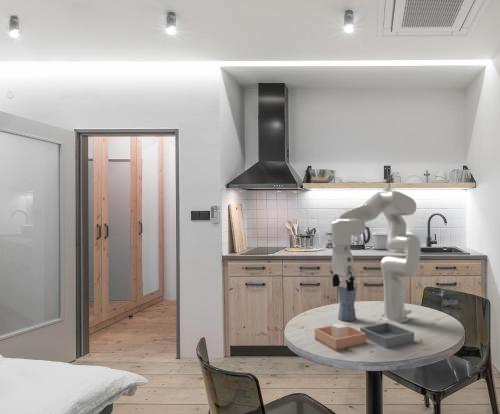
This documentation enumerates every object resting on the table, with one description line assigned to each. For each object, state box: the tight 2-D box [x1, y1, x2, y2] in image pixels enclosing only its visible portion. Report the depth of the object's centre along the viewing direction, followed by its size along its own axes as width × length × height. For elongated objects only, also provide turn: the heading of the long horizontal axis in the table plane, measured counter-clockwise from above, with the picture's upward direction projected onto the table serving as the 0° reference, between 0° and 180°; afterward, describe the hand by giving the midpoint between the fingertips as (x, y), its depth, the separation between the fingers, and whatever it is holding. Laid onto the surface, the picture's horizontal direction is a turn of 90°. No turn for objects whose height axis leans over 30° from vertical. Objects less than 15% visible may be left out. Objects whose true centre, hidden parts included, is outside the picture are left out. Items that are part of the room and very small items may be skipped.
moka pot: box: [336, 279, 358, 323], centre depth 186 cm, size 10×15×20 cm, turn 23°
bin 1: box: [314, 322, 367, 352], centre depth 155 cm, size 15×15×4 cm
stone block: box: [330, 322, 349, 339], centre depth 155 cm, size 5×5×6 cm
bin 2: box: [359, 321, 415, 349], centre depth 155 cm, size 15×15×4 cm
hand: (343, 288), depth 159 cm, fingers open, 9 cm apart
